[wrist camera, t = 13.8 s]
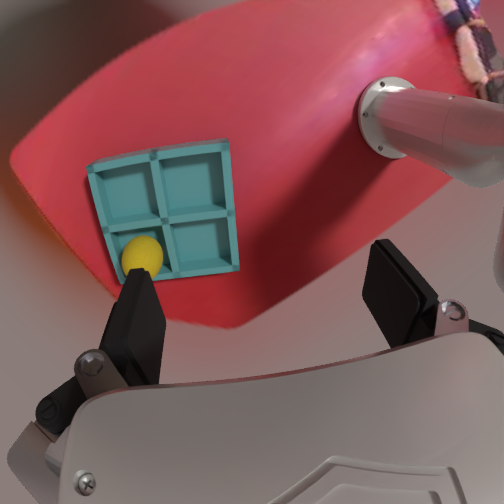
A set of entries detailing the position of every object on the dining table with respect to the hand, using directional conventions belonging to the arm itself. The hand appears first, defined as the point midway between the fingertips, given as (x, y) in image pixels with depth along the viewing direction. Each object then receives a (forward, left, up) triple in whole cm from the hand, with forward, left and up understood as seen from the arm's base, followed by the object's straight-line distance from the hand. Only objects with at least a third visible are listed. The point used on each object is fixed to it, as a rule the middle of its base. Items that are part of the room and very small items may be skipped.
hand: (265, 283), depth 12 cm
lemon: (+12, +11, -27) cm, 31 cm away
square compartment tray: (+9, +7, -27) cm, 30 cm away
